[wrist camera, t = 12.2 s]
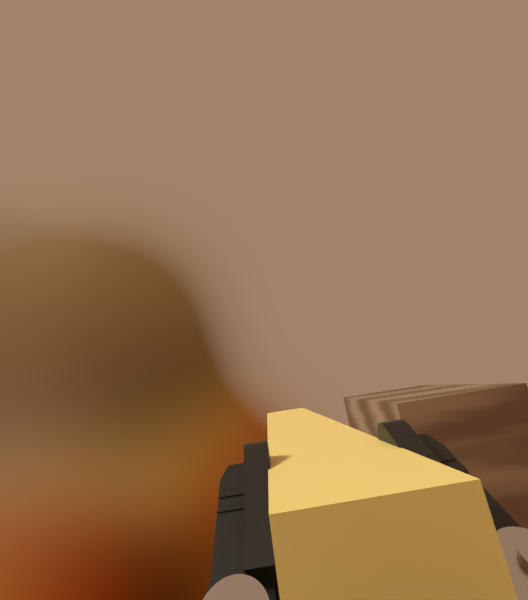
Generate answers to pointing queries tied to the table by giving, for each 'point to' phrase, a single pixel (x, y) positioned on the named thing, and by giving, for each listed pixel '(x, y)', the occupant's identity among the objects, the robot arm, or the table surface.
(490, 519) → the rail
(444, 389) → the stand
